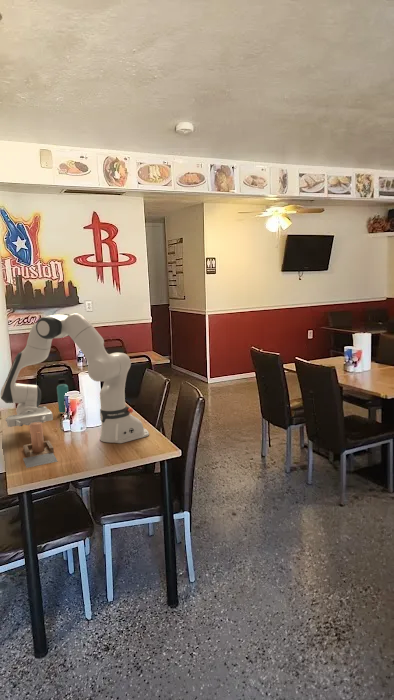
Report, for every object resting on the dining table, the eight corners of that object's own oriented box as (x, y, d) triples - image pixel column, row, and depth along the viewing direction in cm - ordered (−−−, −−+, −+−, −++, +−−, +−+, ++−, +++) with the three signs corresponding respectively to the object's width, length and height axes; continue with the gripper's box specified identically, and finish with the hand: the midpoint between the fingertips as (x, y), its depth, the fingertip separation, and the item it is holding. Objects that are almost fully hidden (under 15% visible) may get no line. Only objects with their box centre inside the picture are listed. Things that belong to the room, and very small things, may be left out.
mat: (52, 453, 197) (52, 452, 197) (57, 462, 187) (57, 461, 187) (23, 459, 192) (22, 458, 192) (26, 469, 181) (26, 467, 181)
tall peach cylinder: (43, 447, 204) (41, 421, 202) (46, 453, 197) (43, 426, 195) (31, 449, 202) (29, 423, 200) (34, 455, 194) (31, 428, 193)
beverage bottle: (67, 415, 257) (64, 380, 254) (56, 415, 258) (53, 380, 255) (73, 412, 263) (69, 377, 260) (62, 412, 265) (59, 377, 262)
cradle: (49, 445, 208) (49, 440, 207) (53, 453, 198) (53, 447, 198) (23, 450, 203) (23, 445, 203) (26, 458, 193) (26, 452, 193)
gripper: (4, 412, 217) (6, 419, 205) (49, 405, 226) (54, 412, 214) (5, 425, 218) (8, 433, 206) (50, 418, 227) (55, 425, 215)
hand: (31, 422), depth 210 cm, fingers open, 8 cm apart
